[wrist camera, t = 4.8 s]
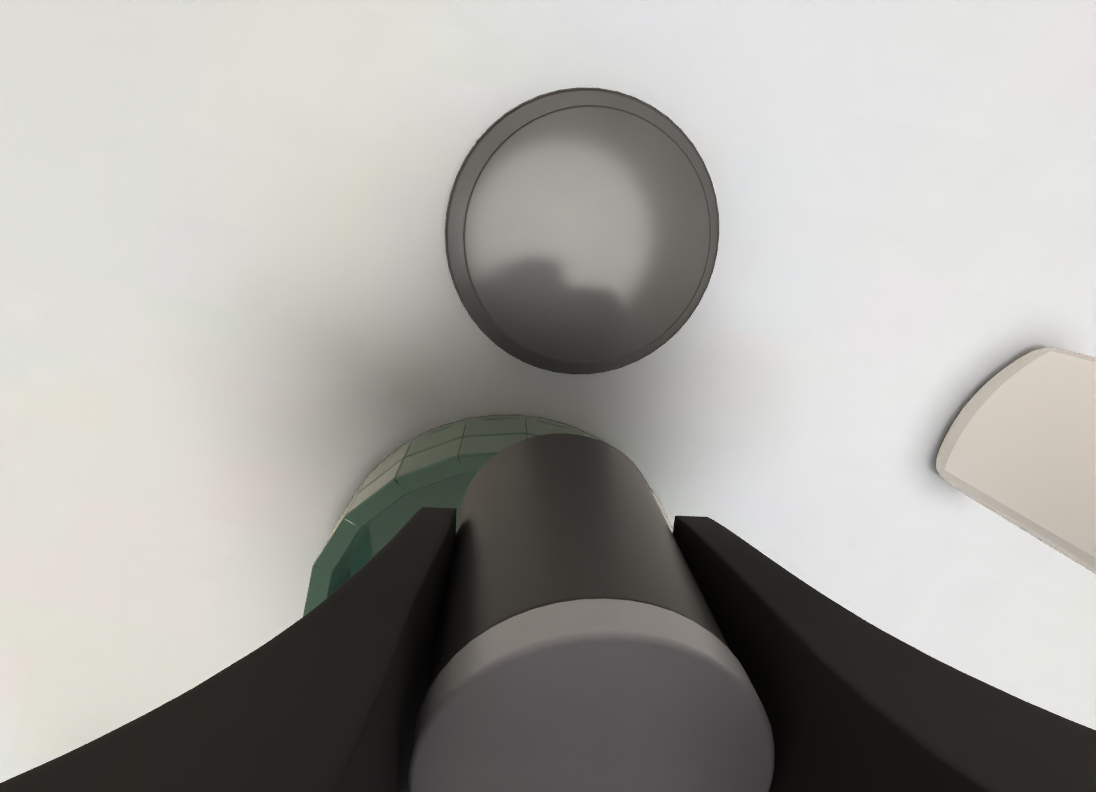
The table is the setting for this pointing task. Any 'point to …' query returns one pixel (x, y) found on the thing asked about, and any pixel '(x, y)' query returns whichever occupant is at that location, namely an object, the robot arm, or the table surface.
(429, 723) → the black canister
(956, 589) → the table surface
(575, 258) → the gray stand
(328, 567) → the tin
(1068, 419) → the eye dropper bottle
